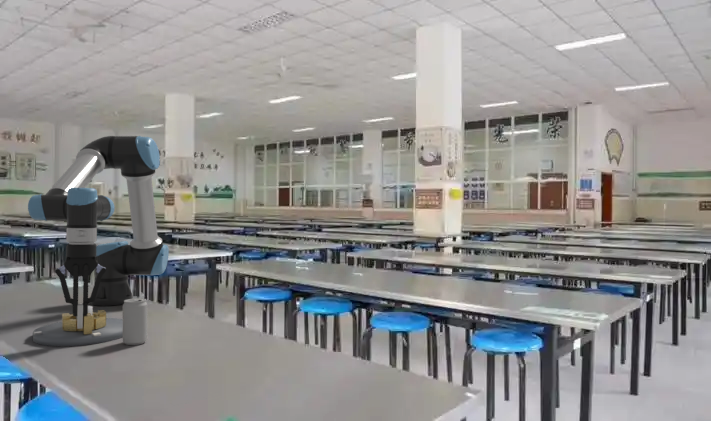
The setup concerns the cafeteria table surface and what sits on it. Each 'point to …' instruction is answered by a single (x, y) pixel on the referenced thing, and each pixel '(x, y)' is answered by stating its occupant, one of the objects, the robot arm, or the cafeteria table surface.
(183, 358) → the cafeteria table surface
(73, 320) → the ring nut
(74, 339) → the flange
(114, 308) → the cafeteria table surface
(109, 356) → the cafeteria table surface
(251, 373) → the cafeteria table surface
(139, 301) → the beverage can
